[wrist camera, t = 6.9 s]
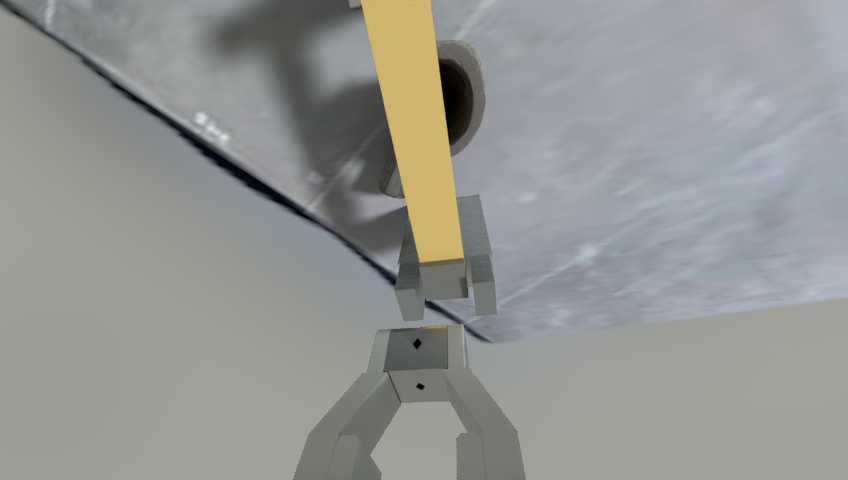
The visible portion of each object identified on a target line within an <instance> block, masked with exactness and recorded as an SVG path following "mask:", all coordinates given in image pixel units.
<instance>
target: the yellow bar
mask: <svg viewBox="0 0 848 480" xmlns="http://www.w3.org/2000/svg"><path fill="white" fill-rule="evenodd" d="M361 4H362V8H363V12H364V17H365V21H366V26H367V30H368V35H369V39H370V44H371V48H372V52H373V57H374V61H375V66H376V70H377V75H378V79H379V84H380V88H381V92H382V97H383V101H384V106H385V110H386V115H387V119H388V124H389V128H390V132H391V137H392V141H393V146H394V150H395V155H396V159H397V164H398V168H399V172H400V177H401V181H402V186H403V190H404V195H405V199H406V204H407V208H408V212H409V217H410V221H411V226H412V230H413V235H414V239H415V244H416V248H417V252H418V257H419V261H420V264H419V270H420V274H421V279H422V283H423V287H424V292H425V296H426V300H427V301H433V300H444V299H456V298H468V285H467V277H466V269H465V262H464V254H463V246H462V239H461V231H460V223H459V216H458V208H457V201H456V193H455V185H454V178H453V170H452V163H451V155H450V147H449V140H448V132H447V124H446V117H445V109H444V102H443V94H442V86H441V79H440V71H439V63H438V56H437V48H436V41H435V33H434V25H433V18H432V10H431V2H430V0H361Z"/></svg>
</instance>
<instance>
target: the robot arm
mask: <svg viewBox="0 0 848 480" xmlns="http://www.w3.org/2000/svg"><path fill="white" fill-rule="evenodd" d="M425 401H426V402H427V401H429V402H434V401H450V402H451V404H452V406H453V408H454V409H455V411H456V413H457V415H458V416H459V418H460V420H461V422H462V423H463V425H464V427H465V429H466V430H467V432H468V433H461V434H460V435H459V436H458V437H457V439H456V442H457V480H526V479H525V472H524V467H523V461H522V456H521V450H520V444H519V439H518V433H517V430H516V429H515V428H514V426H513V425H512V424H511V422H510V421H509V420H508V418H507V417H506V416H505V414H504V413H503V412H502V410H501V409H500V408H499V406H498V405H497V404H496V402H495V401H494V400H493V398H492V397H491V396H490V394H489V393H488V392H487V390H486V389H485V388H484V386H483V385H482V384H481V382H480V381H479V380H478V378H477V377H476V376H475V374H474V373H473V372H472V370H471V369H470V368H469V363H468V353H467V346H466V339H465V332H464V326H463V324H457V325H440V326H429V327H420V328H404V329H403V328H402V329H383V330H378V332H377V333H376V336H375V340H374V344H373V348H372V353H371V357H370V361H369V365H368V370H367V373H362V374H361V376H360V377H359V378H358V379H357V380H356V381H355V382H354V383H353V385H352V386H351V387H350V388H349V389H348V390H347V391H346V392H345V394H344V395H343V396H342V397H341V398H340V399H339V400H338V401H337V403H336V404H335V405H334V406H333V407H332V409H331V410H330V411H329V412H328V413H327V414H326V415H325V416H324V417H323V418H322V420H321V421H320V422H319V423H318V424H317V425H316V426H315V427H314V429H313V430H312V431H311V432H310V433H309V435H308V438H307V441H306V443H305V446H304V450H303V452H302V455H301V458H300V461H299V464H298V467H297V469H296V472H295V475H294V478H293V480H381V472H380V470H379V468H378V467H377V465H376V464H375V462H374V461H373V459H372V458H371V456H370V454H371V452H372V451H373V449H374V448H375V446H376V444H377V443H378V441H379V439H380V438H381V436H382V434H383V433H384V431H385V430H386V428H387V427H388V425H389V423H390V422H391V420H392V418H393V417H394V415H395V414H396V412H397V410H398V409H399V407H400V406H401V403H410V402H425Z"/></svg>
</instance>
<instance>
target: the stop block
mask: <svg viewBox="0 0 848 480" xmlns="http://www.w3.org/2000/svg"><path fill="white" fill-rule="evenodd" d="M456 201H457V208H458V216H459V223H460V231H461V239H462V246H463V254H464V262H465V269H466V277H467V285H468V287H473V291H474V300H475V308H476V316H481V315H495V314H497V309H496V295H495V281H494V276H493V263H492V252H491V247H490V243H489V238H488V233H487V229H486V224H485V220H484V215H483V210H482V206H481V201H480V196H479V195H476V196H469V197H461V198H456ZM419 264H420V261H419V257H418V252H417V248H416V244H415V239H414V235H413V230H412V226H411V221H410V217H409V215H408V219H407V224H406V229H405V233H404V238H403V242H402V247H401V251H400V256H399V260H398V266H399V272H398V277H397V282H396V287H395V294H396V297H397V300H398V303H399V306H400V310H401V313H402V316H403V320H404V321H416V320H423V314H424V303H425V292H424V287H423V283H422V279H421V274H420V270H419Z"/></svg>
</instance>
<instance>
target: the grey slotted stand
mask: <svg viewBox="0 0 848 480" xmlns="http://www.w3.org/2000/svg"><path fill="white" fill-rule="evenodd" d="M348 1H349V5H350V8H353V9H355V8H360V7H362V4H361V0H348Z"/></svg>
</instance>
